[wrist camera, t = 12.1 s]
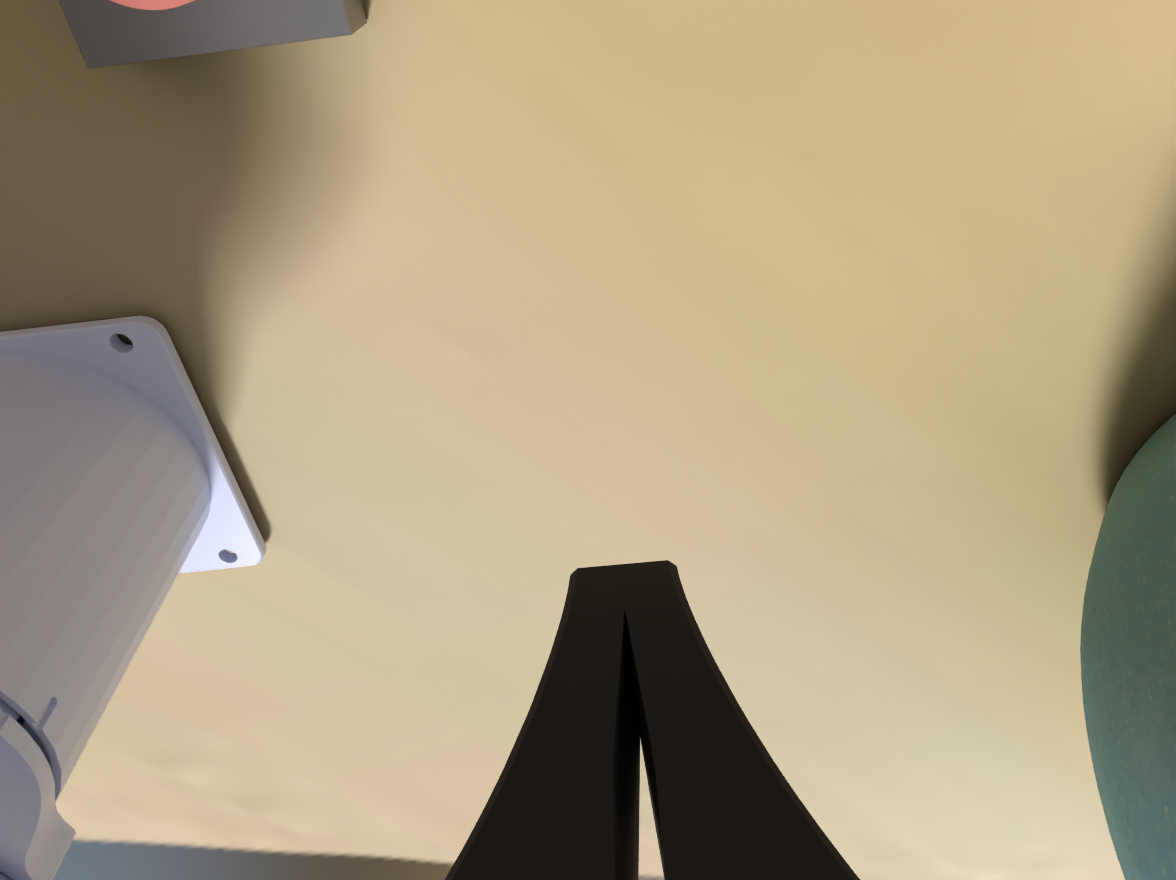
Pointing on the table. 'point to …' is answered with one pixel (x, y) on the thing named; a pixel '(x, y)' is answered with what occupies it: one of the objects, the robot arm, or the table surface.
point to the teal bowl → (1135, 661)
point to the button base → (202, 27)
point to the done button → (152, 4)
